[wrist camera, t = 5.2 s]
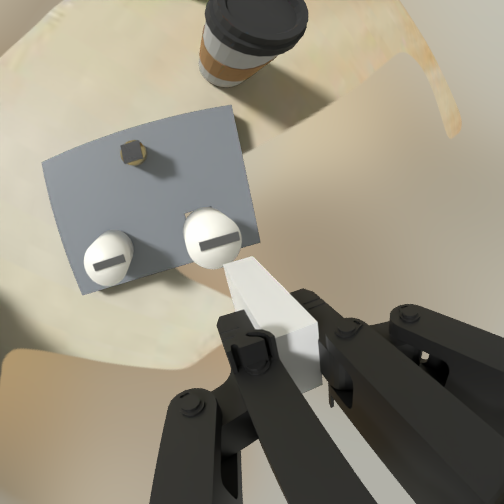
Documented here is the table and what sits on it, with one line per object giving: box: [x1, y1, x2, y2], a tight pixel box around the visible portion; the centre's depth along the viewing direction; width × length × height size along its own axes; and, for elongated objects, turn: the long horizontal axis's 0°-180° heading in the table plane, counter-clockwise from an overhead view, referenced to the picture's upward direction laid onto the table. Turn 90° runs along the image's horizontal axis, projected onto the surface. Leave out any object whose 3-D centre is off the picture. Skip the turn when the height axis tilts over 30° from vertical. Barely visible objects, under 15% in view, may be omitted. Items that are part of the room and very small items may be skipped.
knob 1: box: [84, 230, 134, 286], centre depth 26 cm, size 4×4×8 cm
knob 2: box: [183, 207, 242, 269], centre depth 25 cm, size 4×4×8 cm
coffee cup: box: [199, 0, 308, 87], centre depth 21 cm, size 8×8×15 cm
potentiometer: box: [120, 140, 147, 166], centre depth 24 cm, size 2×2×4 cm
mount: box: [42, 105, 260, 295], centre depth 29 cm, size 22×16×3 cm
